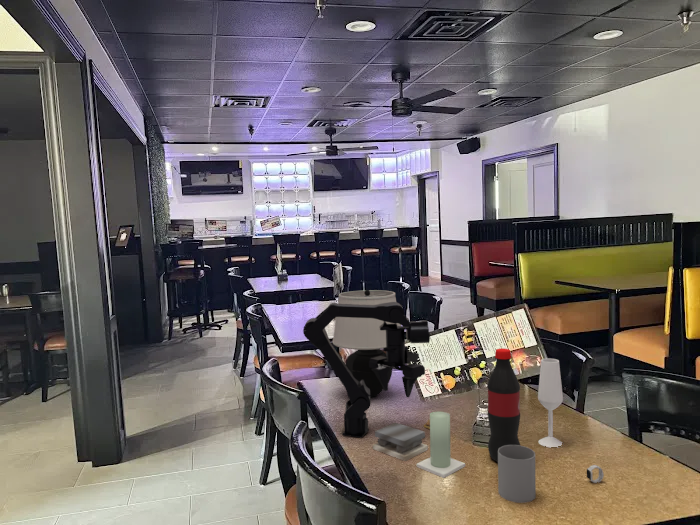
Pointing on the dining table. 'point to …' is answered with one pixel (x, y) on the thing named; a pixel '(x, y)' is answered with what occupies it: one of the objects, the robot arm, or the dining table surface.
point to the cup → (516, 473)
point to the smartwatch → (590, 474)
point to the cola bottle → (503, 404)
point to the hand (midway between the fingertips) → (396, 393)
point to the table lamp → (363, 336)
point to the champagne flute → (550, 396)
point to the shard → (427, 424)
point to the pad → (441, 472)
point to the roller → (440, 439)
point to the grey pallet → (400, 441)
